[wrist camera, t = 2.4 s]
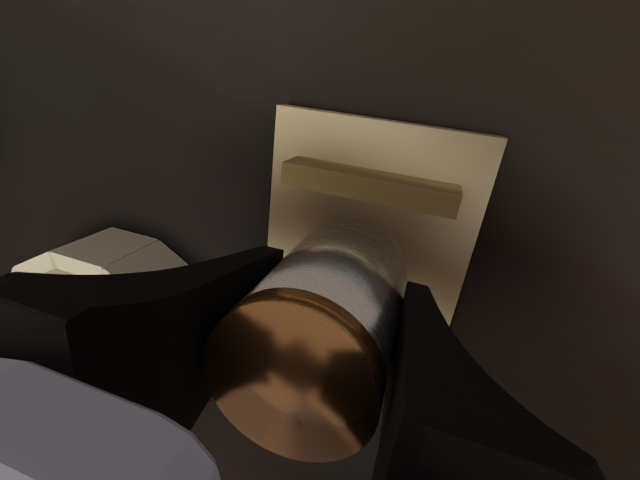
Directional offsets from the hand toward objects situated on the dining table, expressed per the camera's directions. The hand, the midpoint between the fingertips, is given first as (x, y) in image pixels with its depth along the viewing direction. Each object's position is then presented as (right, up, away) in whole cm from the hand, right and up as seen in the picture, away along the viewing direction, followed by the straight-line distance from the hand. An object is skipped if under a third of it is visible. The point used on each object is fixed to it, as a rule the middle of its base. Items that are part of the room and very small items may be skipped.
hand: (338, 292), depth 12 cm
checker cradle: (+1, +2, +4) cm, 4 cm away
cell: (+1, +1, +1) cm, 2 cm away
